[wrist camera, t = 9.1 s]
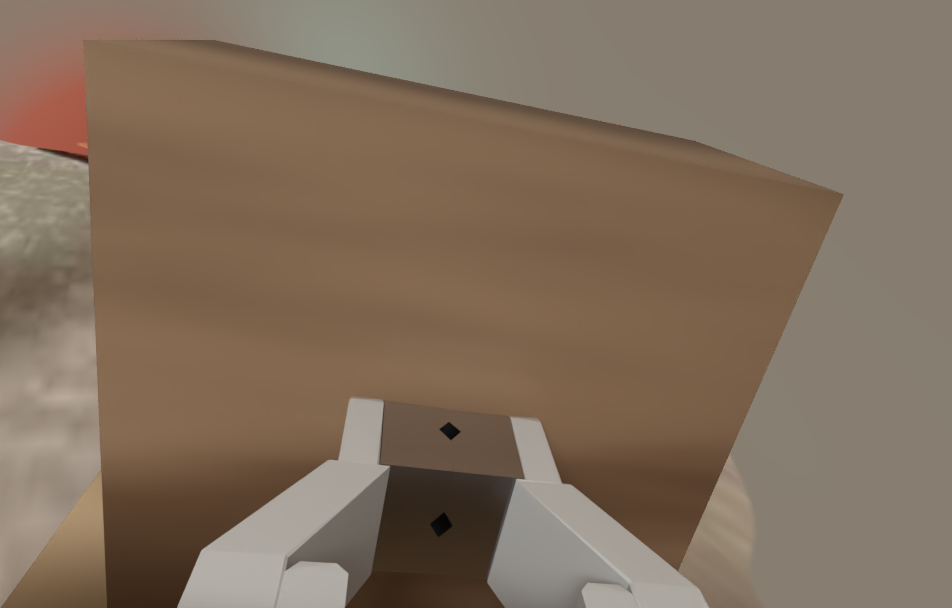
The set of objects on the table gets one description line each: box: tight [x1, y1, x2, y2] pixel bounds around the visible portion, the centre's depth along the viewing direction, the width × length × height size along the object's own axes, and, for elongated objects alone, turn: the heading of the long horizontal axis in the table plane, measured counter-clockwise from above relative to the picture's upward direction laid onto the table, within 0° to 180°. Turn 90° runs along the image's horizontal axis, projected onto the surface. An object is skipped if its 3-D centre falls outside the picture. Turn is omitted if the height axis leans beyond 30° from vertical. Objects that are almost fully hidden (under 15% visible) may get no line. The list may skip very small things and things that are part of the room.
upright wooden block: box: [83, 40, 843, 608], centre depth 14 cm, size 9×10×10 cm
